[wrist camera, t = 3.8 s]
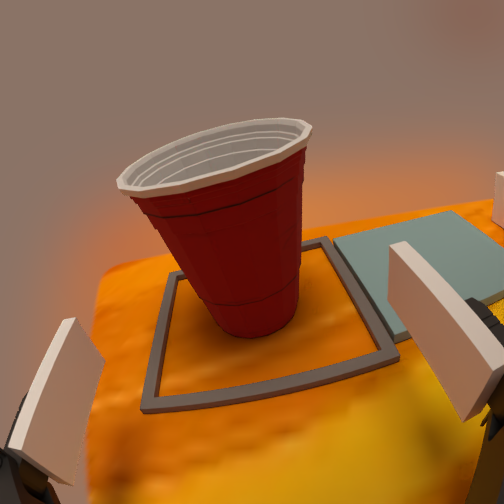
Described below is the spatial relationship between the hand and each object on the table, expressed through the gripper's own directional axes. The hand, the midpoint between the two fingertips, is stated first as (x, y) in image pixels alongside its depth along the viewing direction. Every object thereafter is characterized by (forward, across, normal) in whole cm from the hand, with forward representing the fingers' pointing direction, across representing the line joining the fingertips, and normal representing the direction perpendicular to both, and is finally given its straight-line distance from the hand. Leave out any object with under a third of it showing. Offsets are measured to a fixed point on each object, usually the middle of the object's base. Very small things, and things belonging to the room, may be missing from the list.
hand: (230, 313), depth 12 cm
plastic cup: (+8, 0, -7) cm, 10 cm away
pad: (+7, +14, -6) cm, 17 cm away
